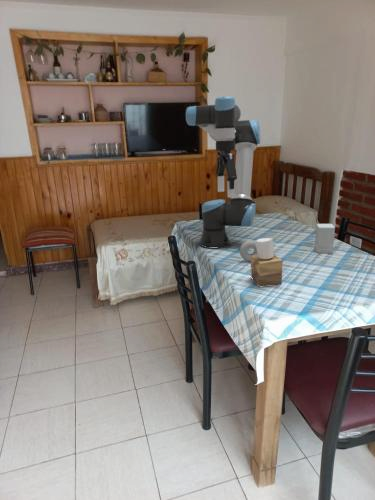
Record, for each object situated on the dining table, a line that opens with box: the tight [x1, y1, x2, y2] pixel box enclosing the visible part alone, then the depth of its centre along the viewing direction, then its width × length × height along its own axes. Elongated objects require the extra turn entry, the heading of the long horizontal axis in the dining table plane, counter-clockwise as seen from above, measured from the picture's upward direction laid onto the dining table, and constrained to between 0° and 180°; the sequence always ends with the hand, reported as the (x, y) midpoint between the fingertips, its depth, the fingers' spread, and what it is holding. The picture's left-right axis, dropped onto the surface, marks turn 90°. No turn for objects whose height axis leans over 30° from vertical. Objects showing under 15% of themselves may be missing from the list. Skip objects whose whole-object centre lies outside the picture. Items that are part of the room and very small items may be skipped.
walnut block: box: [250, 267, 283, 287], centre depth 138 cm, size 9×9×5 cm
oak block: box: [250, 253, 284, 276], centre depth 137 cm, size 9×9×5 cm
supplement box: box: [314, 223, 336, 254], centre depth 167 cm, size 7×7×13 cm
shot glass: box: [254, 237, 274, 259], centre depth 135 cm, size 7×7×7 cm
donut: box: [239, 239, 258, 262], centre depth 159 cm, size 10×3×10 cm, turn 93°
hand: (225, 194), depth 143 cm, fingers open, 13 cm apart
